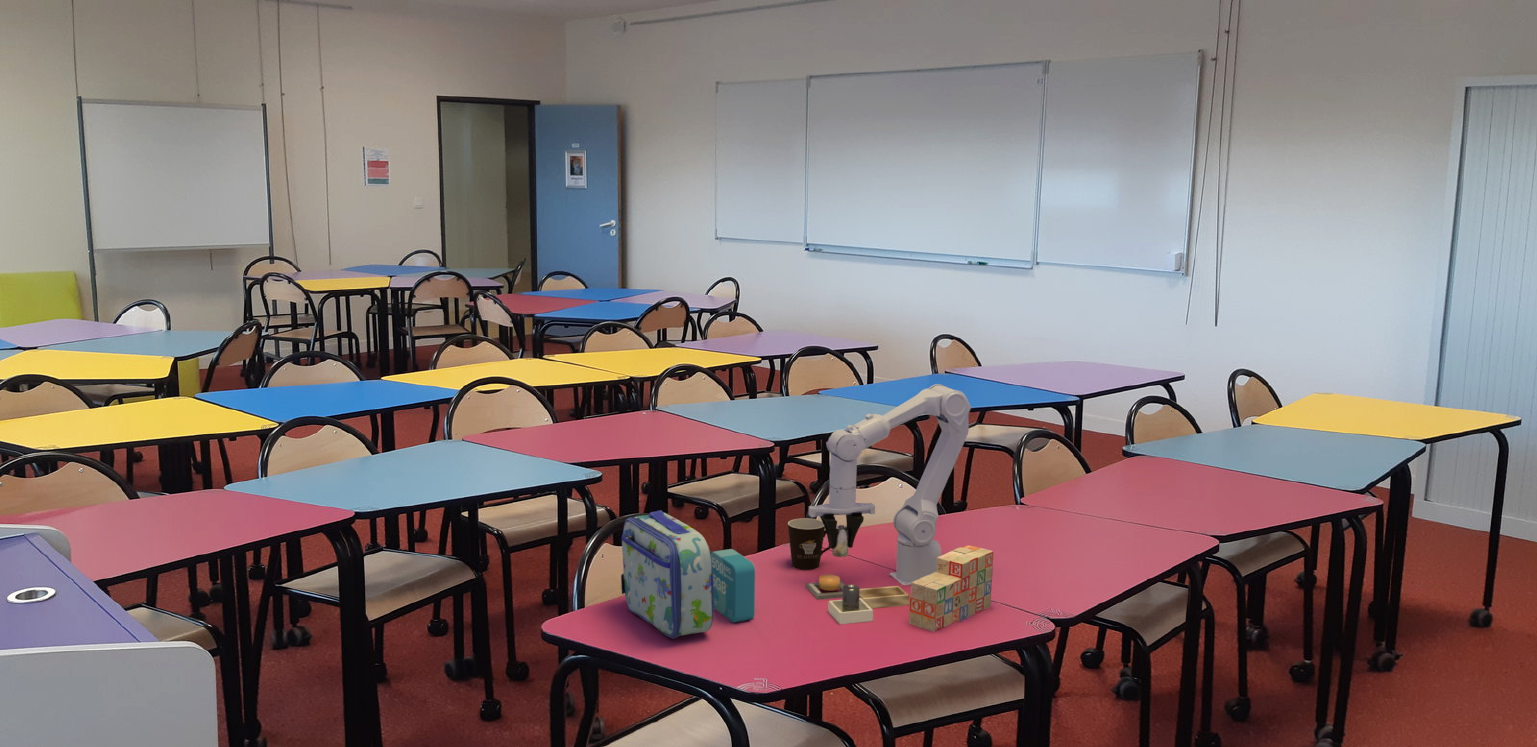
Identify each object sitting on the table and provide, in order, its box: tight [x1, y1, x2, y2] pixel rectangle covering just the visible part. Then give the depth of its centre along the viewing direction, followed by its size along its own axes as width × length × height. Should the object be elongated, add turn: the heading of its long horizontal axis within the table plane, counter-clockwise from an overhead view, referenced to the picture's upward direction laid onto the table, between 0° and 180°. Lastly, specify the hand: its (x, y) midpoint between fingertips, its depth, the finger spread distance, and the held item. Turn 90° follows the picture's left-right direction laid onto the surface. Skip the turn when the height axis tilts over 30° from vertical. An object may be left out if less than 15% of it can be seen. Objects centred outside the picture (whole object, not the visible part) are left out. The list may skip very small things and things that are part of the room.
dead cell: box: [841, 584, 861, 612], centre depth 221 cm, size 3×3×6 cm
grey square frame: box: [805, 580, 846, 600], centre depth 235 cm, size 8×8×2 cm
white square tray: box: [827, 598, 874, 625], centre depth 221 cm, size 7×7×3 cm
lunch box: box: [620, 509, 715, 639], centre depth 217 cm, size 26×11×21 cm, turn 29°
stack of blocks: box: [908, 544, 994, 633], centre depth 223 cm, size 21×6×12 cm, turn 138°
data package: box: [710, 548, 756, 623], centre depth 222 cm, size 12×4×12 cm, turn 27°
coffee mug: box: [787, 517, 831, 571], centre depth 252 cm, size 12×9×10 cm
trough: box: [859, 585, 910, 609], centre depth 229 cm, size 10×6×3 cm, turn 106°
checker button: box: [818, 574, 841, 592], centre depth 235 cm, size 4×4×2 cm
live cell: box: [832, 524, 849, 558], centre depth 238 cm, size 3×3×6 cm
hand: (840, 546), depth 238 cm, fingers closed on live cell, 3 cm apart
